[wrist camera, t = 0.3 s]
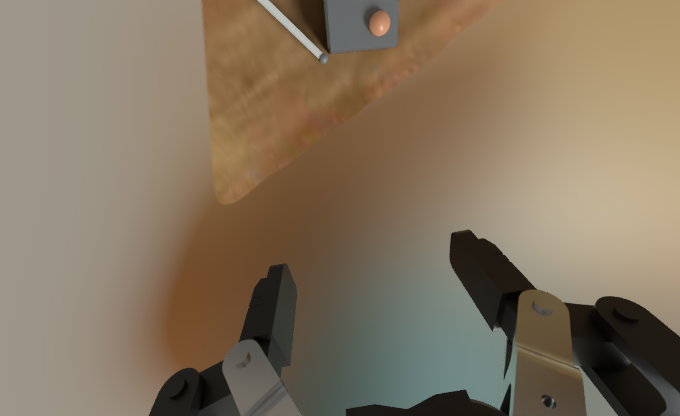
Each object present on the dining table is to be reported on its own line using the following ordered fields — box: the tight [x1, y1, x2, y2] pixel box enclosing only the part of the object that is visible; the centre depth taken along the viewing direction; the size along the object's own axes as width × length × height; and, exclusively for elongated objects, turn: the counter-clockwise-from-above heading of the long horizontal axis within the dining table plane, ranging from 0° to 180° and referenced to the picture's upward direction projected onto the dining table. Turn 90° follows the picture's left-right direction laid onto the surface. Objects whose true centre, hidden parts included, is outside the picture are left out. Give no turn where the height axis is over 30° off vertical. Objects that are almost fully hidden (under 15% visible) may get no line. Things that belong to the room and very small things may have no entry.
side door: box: [257, 0, 328, 64], centre depth 27 cm, size 12×1×5 cm, turn 50°
